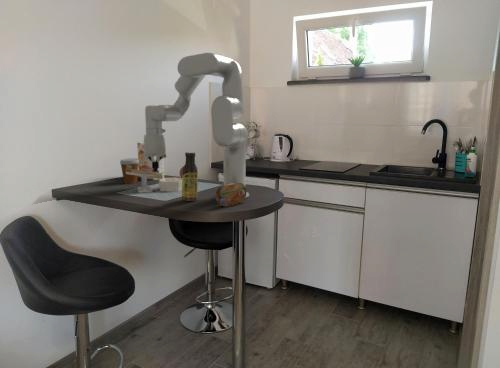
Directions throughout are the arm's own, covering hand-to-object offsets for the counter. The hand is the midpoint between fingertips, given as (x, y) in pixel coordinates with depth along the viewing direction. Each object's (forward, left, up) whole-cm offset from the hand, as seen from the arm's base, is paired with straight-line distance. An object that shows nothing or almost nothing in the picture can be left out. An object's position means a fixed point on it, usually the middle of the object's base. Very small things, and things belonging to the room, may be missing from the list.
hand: (155, 169), depth 179 cm
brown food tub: (+16, +11, -8) cm, 21 cm away
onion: (+8, -18, -8) cm, 21 cm away
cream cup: (-8, -6, -8) cm, 13 cm away
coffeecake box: (+28, -1, -9) cm, 29 cm away
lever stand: (-8, +6, -8) cm, 13 cm away
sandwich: (-46, -24, -9) cm, 53 cm away
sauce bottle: (-34, -10, -8) cm, 37 cm away
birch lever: (-5, +6, -1) cm, 8 cm away
